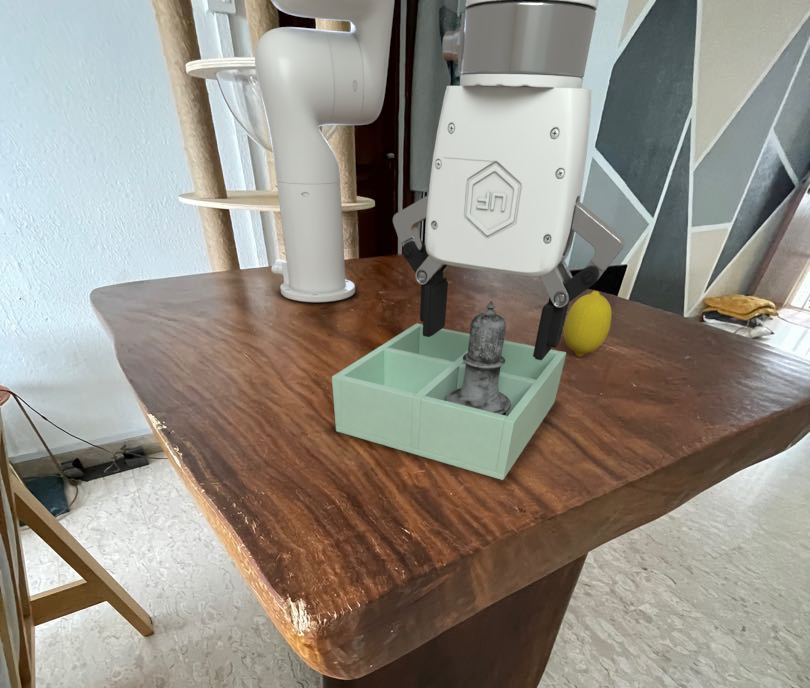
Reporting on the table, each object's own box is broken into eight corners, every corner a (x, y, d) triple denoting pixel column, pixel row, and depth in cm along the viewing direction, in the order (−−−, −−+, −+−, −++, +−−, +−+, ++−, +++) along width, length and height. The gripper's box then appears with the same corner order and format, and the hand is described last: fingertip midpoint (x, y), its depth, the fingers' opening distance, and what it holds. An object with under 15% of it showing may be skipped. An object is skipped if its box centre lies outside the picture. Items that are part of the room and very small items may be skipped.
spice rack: (335, 431, 49) (331, 376, 45) (414, 370, 60) (416, 323, 57) (503, 480, 43) (513, 422, 39) (554, 402, 54) (566, 352, 51)
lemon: (594, 368, 62) (613, 300, 57) (551, 358, 64) (566, 292, 59) (605, 354, 66) (624, 289, 60) (565, 345, 68) (580, 282, 62)
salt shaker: (503, 455, 44) (528, 315, 36) (439, 447, 45) (449, 309, 37) (506, 424, 49) (529, 294, 41) (447, 418, 49) (459, 288, 42)
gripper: (369, 52, 30) (374, 337, 41) (669, 50, 24) (579, 381, 36) (422, 61, 35) (414, 313, 46) (682, 61, 29) (599, 348, 41)
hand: (485, 342), depth 41 cm, fingers open, 9 cm apart
